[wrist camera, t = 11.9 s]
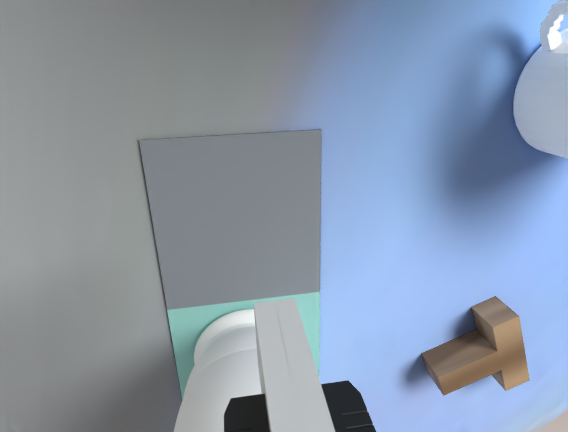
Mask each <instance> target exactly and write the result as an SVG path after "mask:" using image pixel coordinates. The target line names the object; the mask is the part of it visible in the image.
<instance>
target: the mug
mask: <svg viewBox="0 0 568 432" xmlns="http://www.w3.org/2000/svg"><path fill="white" fill-rule="evenodd" d="M548 14H549V15H548V16H547V17H546V18H545V20H544V21H543V22H542V23H541V28H540V41H541V46H540V48H539V49H538V50H537V51H536V52H535V53H534V54H533V55H532V56H531V58H530V59H529V61H528V62H527V64H526V65H525V67H524V69H523V71H522V73H521V75H520V77H519V79H518V83H517V86H516V89H515V94H514V100H513V114H514V119H515V123H516V126H517V128H518V130H519V132H520V134H521V136H522V137H523V138H524V140H525V141H526V142H527V143H528V144H529V145H531V146H532V147H534V148H535V149H537V150H540V151H543V152H546V153H550V154H553V155H556V156H560V157H563V158H567V159H568V28H566V29H564V30H562V31H561V32H559V31H558V30H557V29H559V28H560V21H562V20H563V16H564V15H565V14H568V0H561V1H559V2H557V3H556V4H554V5H552V7H551V10H550V11H549V12H548Z"/></svg>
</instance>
